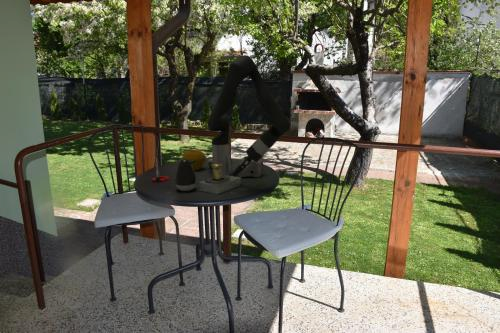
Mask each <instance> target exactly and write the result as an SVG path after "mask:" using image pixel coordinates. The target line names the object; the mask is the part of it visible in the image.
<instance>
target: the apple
mask: <svg viewBox="0 0 500 333" xmlns="http://www.w3.org/2000/svg"><path fill="white" fill-rule="evenodd" d="M182 157H183V158H182V159H187V160H189V161H190V162H191V161H193V160H196V162H194V163H193V164H192V166H193V168H194V171H195V172H197V171H199V170H200V169H202V168H203V165H204V164H205V162H206V158H207V157H206V154H205V153H204V152H203V151H202V150H199V149H190V150H187V151H185V152H184V154H183V156H182Z"/></svg>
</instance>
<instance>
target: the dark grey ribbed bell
mask: <svg viewBox="0 0 500 333" xmlns="http://www.w3.org/2000/svg"><path fill="white" fill-rule="evenodd" d="M194 162H196V160H193V161H191V162H190V161H189V160H187V159H183V158H182V159H180V160H179V162H178V164H177V167H176V171H175V175H174V176H175V177H174V184H175V186H176V188H177V189H178V190H179V191H181V192H190V191H192V190H194V189H195V187H196V184H197V175H196V171H194V168H193V166H192V164H193V163H194Z"/></svg>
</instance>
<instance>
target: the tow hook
mask: <svg viewBox="0 0 500 333" xmlns="http://www.w3.org/2000/svg"><path fill="white" fill-rule="evenodd" d="M155 159H156V161H155V168H156V169H155V170H156V172H155V173H156V176H155V177H153V178H151V182H157V183H164V182H165V181H168V180H170V177H169V176H167V175H166V176H165V175H161V176H160V169H159V168H160V166H159V160H158V159H159V158H158V156H157V157H155Z"/></svg>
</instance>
